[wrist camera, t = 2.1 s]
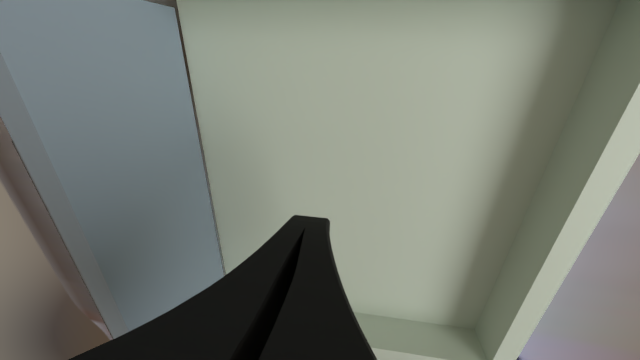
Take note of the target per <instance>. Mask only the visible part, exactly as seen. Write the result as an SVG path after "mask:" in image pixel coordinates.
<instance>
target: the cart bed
mask: <svg viewBox="0 0 640 360" xmlns="http://www.w3.org/2000/svg"><path fill="white" fill-rule="evenodd" d="M176 1H177V7H178V12H179V18H180V24H181V29H182V35H183V40H184V46H185V51H186V57H187V62H188V68H189V74H190V79H191V85H192V90H193V96H194V101H195V107H196V112H197V118H198V124H199V129H200V135H201V140H202V146H203V151H204V157H205V162H206V168H207V174H208V179H209V185H210V190H211V196H212V201H213V207H214V212H215V218H216V223H217V229H218V235H219V240H220V246H221V251H222V257H223V262H224V268H225V273H226V274H228V273H229V272H230V271H232V270H233V269H234V268H236V267H237V266H238V265H240V264H241V263H242V262H243V261H244V260H246V259H247V258H248V257H249V256H251V255H252V254H253V253H254V252H255V251H257V250H258V249H259V248H260V247H261V246H262V245H263V244H264V243H265V242H266V241H268V240H269V239H270V238H271V237H272V236H273V235H274V234H275V233H276V232H277V231H278V230H279V229H280V228H281V227H282V226H283V225H284V224H285V223H286V222H287V221H288V220H289V219H290V218H291V217H292V216H294V215H301V216H310V217H320V218H328V220H329V221H330V241H331V247H332V251H333V255H334V259H335V263H336V267H337V270H338V273H339V276H340V279H341V282H342V285H343V288H344V291H345V293H346V296H347V298H348V301H349V303H350V305H351V308H352V310H353V312H354V315H355V317H356V319H357V321H358V323H359V325H360V328H361V329H362V331H363V333H364V335H365V337H366V339H367V341H368V343H369V345H370V347H371V349H372V351H373V353H374V354H375V356H376V358H377V360H516V359H517V358H518V356H519V354H520V353H521V351H522V349H523V348H524V346H525V344H526V343H527V341H528V339H529V338H530V336H531V334H532V333H533V331H534V329H535V328H536V326H537V324H538V322H539V321H540V319H541V317H542V316H543V314H544V312H545V311H546V309H547V307H548V306H549V304H550V302H551V301H552V299H553V297H554V296H555V294H556V292H557V291H558V289H559V287H560V286H561V284H562V282H563V281H564V279H565V277H566V276H567V274H568V272H569V270H570V269H571V267H572V265H573V264H574V262H575V260H576V259H577V257H578V255H579V254H580V252H581V250H582V249H583V247H584V245H585V244H586V242H587V240H588V239H589V237H590V235H591V234H592V232H593V230H594V229H595V227H596V225H597V224H598V222H599V220H600V219H601V217H602V215H603V213H604V212H605V210H606V208H607V207H608V205H609V203H610V202H611V200H612V198H613V197H614V195H615V193H616V192H617V190H618V188H619V187H620V185H621V183H622V182H623V180H624V178H625V177H626V175H627V173H628V172H629V170H630V168H631V167H632V165H633V163H634V161H635V160H636V158H637V156H638V155H639V153H640V0H176Z"/></svg>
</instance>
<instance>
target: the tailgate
mask: <svg viewBox="0 0 640 360" xmlns="http://www.w3.org/2000/svg"><path fill="white" fill-rule="evenodd" d="M0 116H1V118H2V120H3V122H4V124H5V126H6V128H7V130H8V132H9V134H10V136H11V138H12V143H13V145H14V147H15V149H16V151H17V153H18V155H19V156H20V158H21V160H22V162H23V164H24V166H25V168H26V170H27V172H28V174H29V176H30V178H31V180H32V182H33V184H34V186H35V188H36V190H37V192H38V194H39V196H40V198H41V199H42V201H43V203H44V205H45V207H46V209H47V211H48V213H49V215H50V217H51V219H52V221H53V223H54V225H55V227H56V229H57V231H58V233H59V235H60V237H61V239H62V241H63V242H64V244H65V246H66V248H67V250H68V252H69V254H70V256H71V258H72V260H73V262H74V264H75V266H76V268H77V270H78V272H79V274H80V276H81V278H82V280H83V282H84V284H85V285H86V287H87V289H88V291H89V293H90V295H91V297H92V299H93V301H94V303H95V305H96V307H97V309H98V311H99V313H100V315H101V317H102V319H103V321H104V323H105V325H106V327H107V328H108V330H109V332H110V334H111V336H112V338H113V339H115V338H117V337H119V336H121V335H123V334H125V333H127V332H129V331H131V330H133V329H135V328H137V327H139V326H141V325H143V324H145V323H147V322H149V321H151V320H153V319H155V318H157V317H158V316H160V315H162V314H164V313H166V312H168V311H170V310H171V309H173V308H175V307H176V306H178V305H180V304H181V303H183V302H185V301H186V300H188V299H190V298H191V297H193V296H195V295H196V294H198V293H200V292H201V291H203V290H205V289H206V288H208V287H209V286H211V285H212V284H214V283H215V282H217V281H218V280H219V279H221V278H222V277H224V273H223V268H222V262H221V257H220V252H219V246H218V241H217V235H216V230H215V225H214V219H213V214H212V208H211V203H210V197H209V192H208V187H207V181H206V176H205V170H204V165H203V160H202V154H201V149H200V143H199V138H198V132H197V127H196V122H195V116H194V111H193V105H192V100H191V94H190V89H189V84H188V78H187V73H186V67H185V62H184V57H183V51H182V46H181V40H180V35H179V29H178V24H177V19H176V13H175V8H173V7H169V6H165V5H161V4H156V3H152V2H148V1H144V0H0Z"/></svg>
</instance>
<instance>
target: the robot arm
mask: <svg viewBox="0 0 640 360" xmlns="http://www.w3.org/2000/svg"><path fill="white" fill-rule="evenodd" d="M69 360H377V358H376V356H375V354H374V353H373V351H372V349H371V347H370V345H369V343H368V341H367V339H366V337H365V335H364V333H363V331H362V329H361V328H360V325H359V323H358V321H357V319H356V317H355V315H354V312H353V310H352V308H351V305H350V303H349V301H348V298H347V296H346V293H345V291H344V288H343V285H342V282H341V279H340V276H339V273H338V270H337V267H336V263H335V259H334V255H333V251H332V247H331V241H330V221H329V220H328V218H320V217H310V216H301V215H294V216H292V217H291V218H290V219H289V220H288V221H287V222H286V223H285V224H284V225H283V226H282V227H281V228H280V229H279V230H278V231H277V232H276V233H275V234H274V235H273V236H272V237H271V238H270V239H269V240H268V241H266V242H265V243H264V244H263V245H262V246H261V247H260V248H259V249H258V250H257V251H255V252H254V253H253V254H252V255H251V256H249V257H248V258H247V259H246V260H244V261H243V262H242V263H241V264H240V265H238V266H237V267H236V268H234V269H233V270H232V271H230V272H229V273H228V274H226V275H225V276H224V277H222V278H221V279H219V280H218V281H217V282H215V283H214V284H212V285H211V286H209V287H208V288H206V289H205V290H203V291H201V292H200V293H198V294H196V295H195V296H193V297H191V298H190V299H188V300H186V301H185V302H183V303H181V304H180V305H178V306H176V307H175V308H173V309H171V310H170V311H168V312H166V313H164V314H162V315H160V316H158V317H157V318H155V319H153V320H151V321H149V322H147V323H145V324H143V325H141V326H139V327H137V328H135V329H133V330H131V331H129V332H127V333H125V334H123V335H121V336H119V337H117V338H115V339H113V340H111V341H109V342H107V343H104V344H102V345H100V346H98V347H95V348H93V349H91V350H89V351H86V352H84V353H82V354H80V355H78V356H75V357H73V358H71V359H69Z"/></svg>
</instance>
